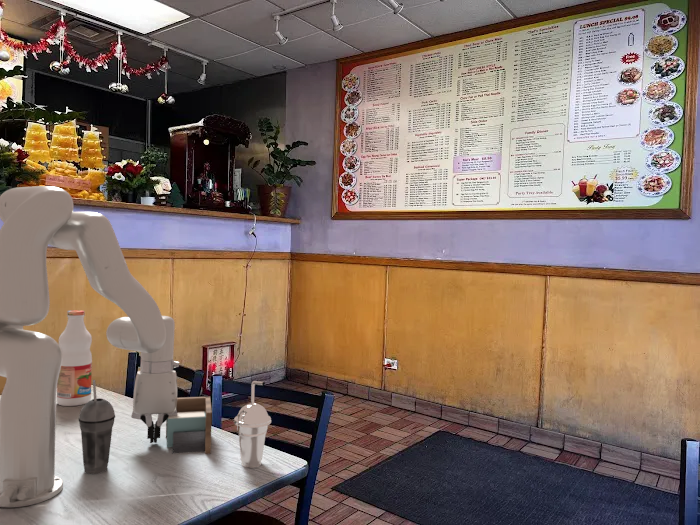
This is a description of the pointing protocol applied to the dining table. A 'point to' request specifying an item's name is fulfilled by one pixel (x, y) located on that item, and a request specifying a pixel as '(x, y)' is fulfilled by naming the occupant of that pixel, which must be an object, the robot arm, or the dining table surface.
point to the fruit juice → (75, 362)
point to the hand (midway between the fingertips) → (153, 441)
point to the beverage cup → (96, 433)
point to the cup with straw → (252, 431)
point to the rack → (192, 406)
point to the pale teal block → (185, 423)
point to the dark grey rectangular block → (188, 441)
